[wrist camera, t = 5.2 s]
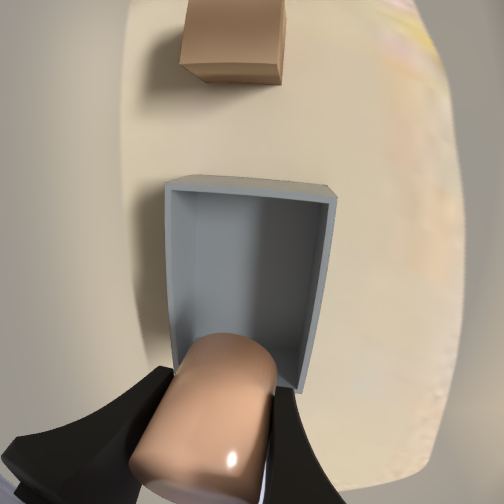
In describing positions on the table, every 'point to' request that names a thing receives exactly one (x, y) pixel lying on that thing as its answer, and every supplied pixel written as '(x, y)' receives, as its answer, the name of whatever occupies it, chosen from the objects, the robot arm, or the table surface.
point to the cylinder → (211, 425)
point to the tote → (248, 264)
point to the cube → (235, 40)
